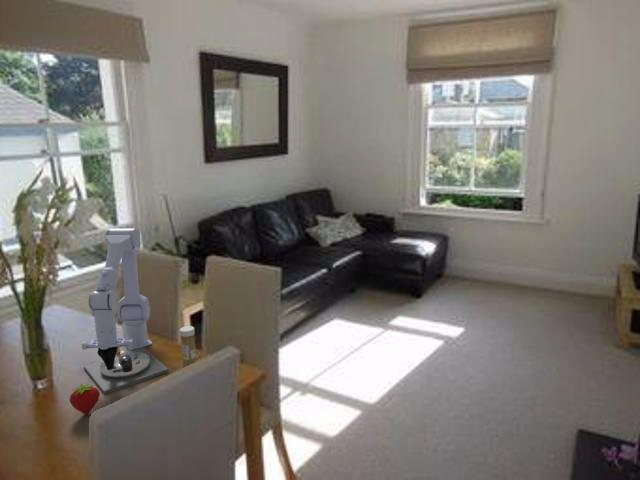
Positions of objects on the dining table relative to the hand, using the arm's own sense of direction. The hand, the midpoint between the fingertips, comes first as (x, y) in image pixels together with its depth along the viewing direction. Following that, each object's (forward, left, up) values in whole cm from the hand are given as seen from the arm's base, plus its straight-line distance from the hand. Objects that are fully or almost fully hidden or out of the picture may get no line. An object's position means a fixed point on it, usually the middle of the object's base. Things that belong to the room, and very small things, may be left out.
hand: (110, 368), depth 154 cm
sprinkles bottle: (+8, +22, -4) cm, 24 cm away
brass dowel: (-12, +6, -4) cm, 14 cm away
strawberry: (+14, -12, -4) cm, 18 cm away
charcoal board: (-3, +5, -4) cm, 8 cm away
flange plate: (-4, +5, -3) cm, 7 cm away
